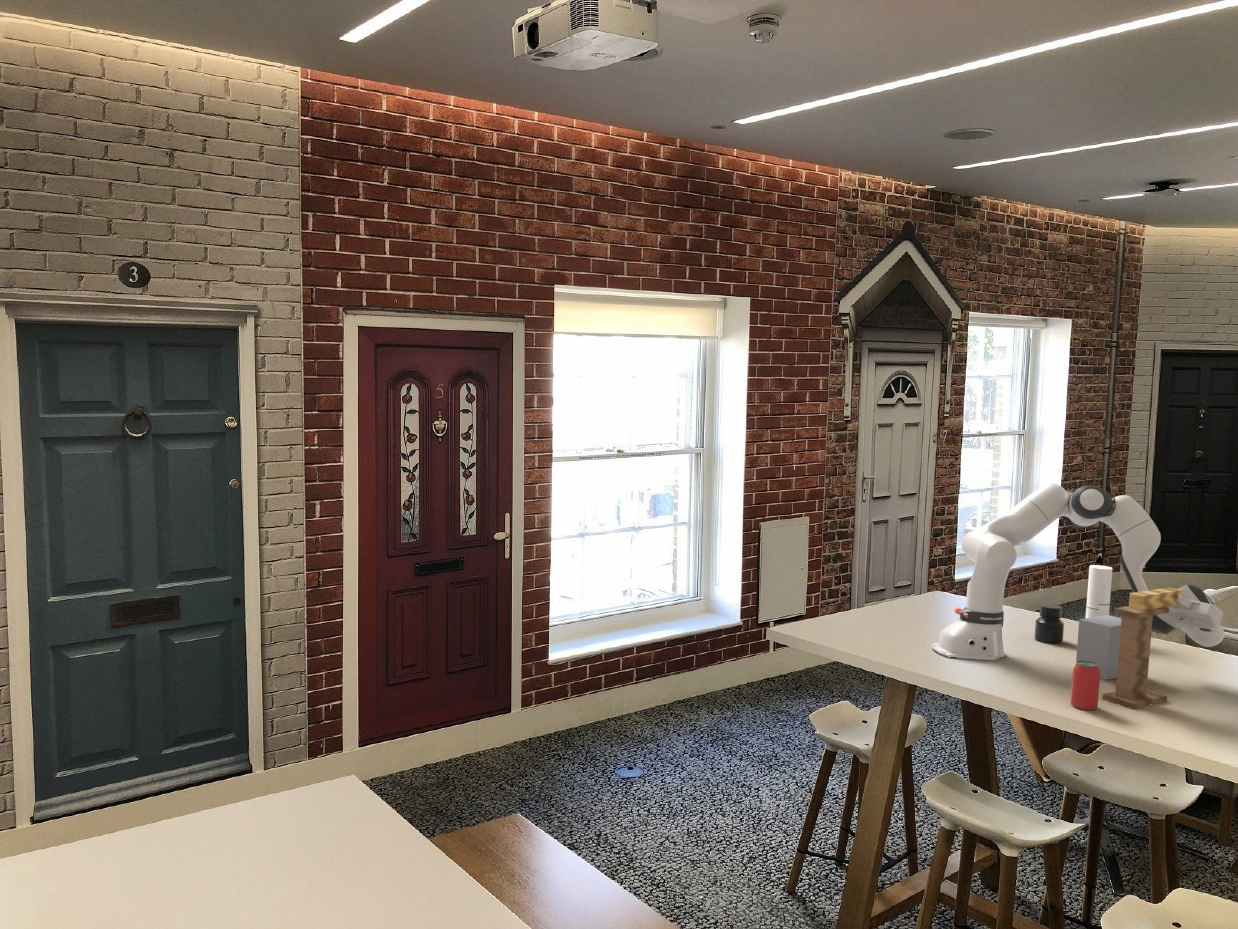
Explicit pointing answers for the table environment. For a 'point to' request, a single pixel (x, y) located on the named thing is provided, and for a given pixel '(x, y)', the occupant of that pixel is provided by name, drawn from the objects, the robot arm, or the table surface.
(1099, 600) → the cylindrical container
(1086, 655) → the ledge block
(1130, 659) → the stand
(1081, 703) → the beer can
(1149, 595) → the bar
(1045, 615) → the ink bottle
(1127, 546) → the robot arm
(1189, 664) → the table surface
